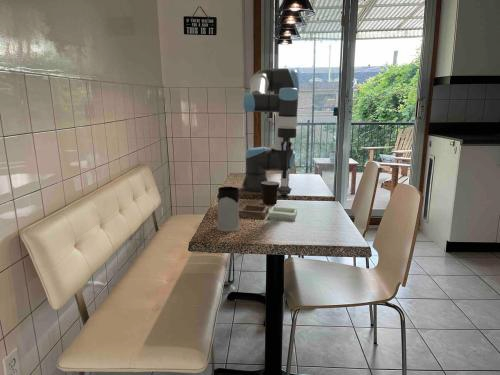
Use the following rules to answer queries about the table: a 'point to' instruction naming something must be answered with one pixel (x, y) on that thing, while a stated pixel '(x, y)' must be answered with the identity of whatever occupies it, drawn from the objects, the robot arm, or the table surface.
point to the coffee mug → (270, 192)
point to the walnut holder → (254, 211)
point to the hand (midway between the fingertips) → (284, 185)
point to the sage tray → (283, 213)
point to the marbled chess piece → (284, 191)
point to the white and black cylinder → (228, 209)
